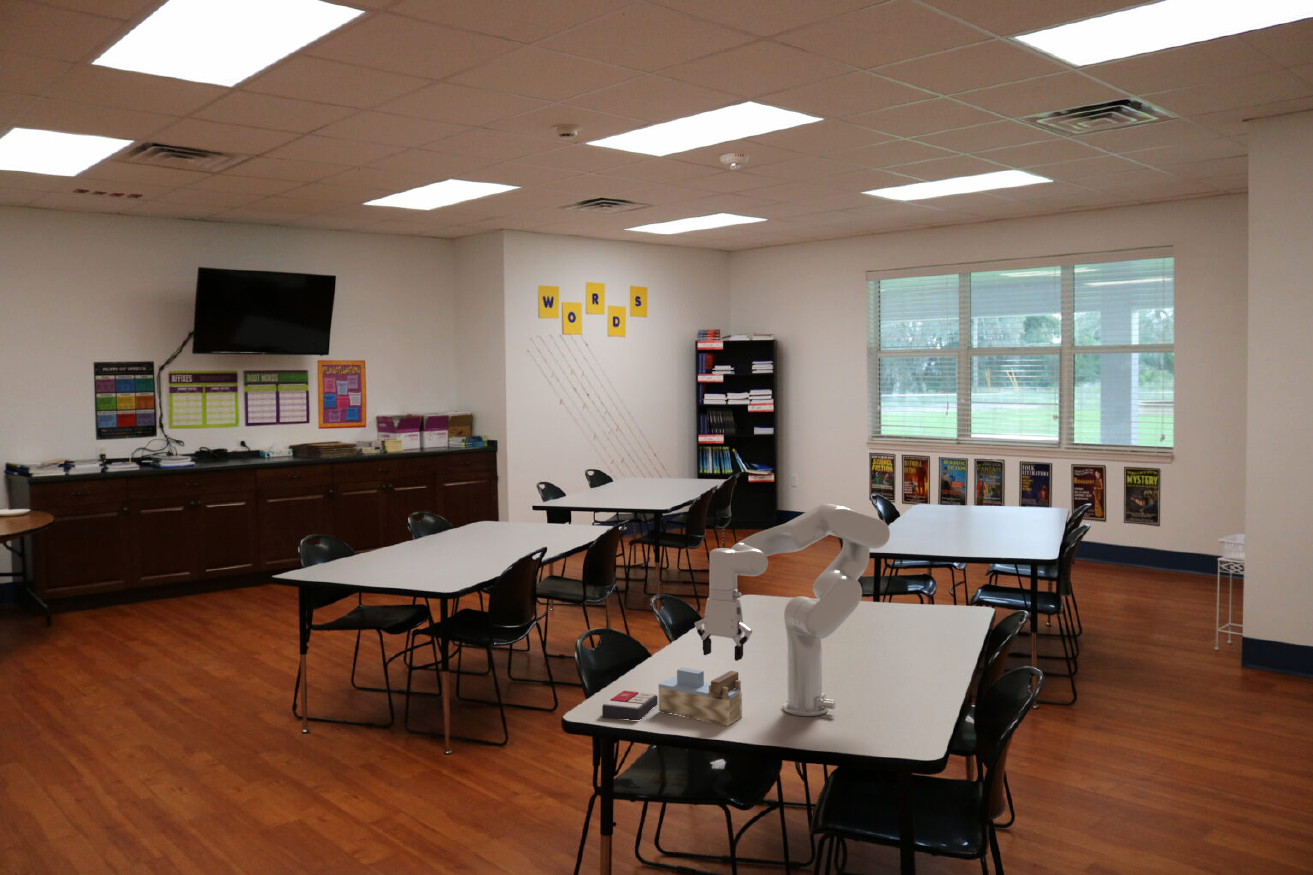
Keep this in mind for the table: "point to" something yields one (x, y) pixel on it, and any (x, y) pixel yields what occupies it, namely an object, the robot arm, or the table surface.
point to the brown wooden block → (723, 683)
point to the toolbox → (703, 705)
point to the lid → (691, 683)
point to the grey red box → (629, 705)
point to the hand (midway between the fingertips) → (722, 656)
